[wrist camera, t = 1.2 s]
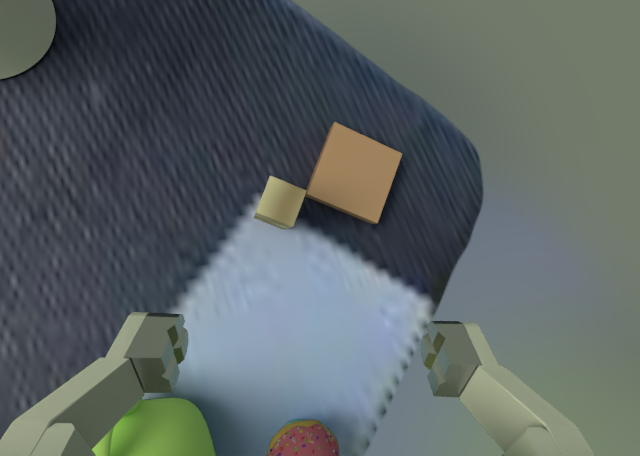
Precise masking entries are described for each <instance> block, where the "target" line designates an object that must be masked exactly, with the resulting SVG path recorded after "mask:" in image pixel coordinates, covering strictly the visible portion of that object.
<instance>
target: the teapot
mask: <svg viewBox="0 0 640 456" xmlns="http://www.w3.org/2000/svg"><path fill="white" fill-rule="evenodd" d="M92 451H93V452H94V453H95V455H96V456H216V455H215V451H214V446H213V442H212V439H211V435H210V432H209V429H208V426H207V424H206V421H205V419H204V417H203V415H202V413H201V412H200V411H199V409H198V408H197V407H196V406H195V405H194V404H193V403H191V402H190V401H188V400H186V399H181V398H159V399H149V400H142V398H141V399H140V400H139V401H138V402H137V403H136V404H135V405H134V406H133V407H132V408H131V409H130V410H129V411H128V412H127V413H126V414H125V415H124V417H123V418H122V419H121V420H120V421H119V422H118V423H117V424H116V425H115V426H114V427H113V428H112V429H111V430H110V431H109V432H108V433H107V434H106V435H105V436H104V437H103V438H102V439H101V441H100V442H99V443H98V444H97V445H96V446H95V447H94V448H93V449H92Z"/></svg>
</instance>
